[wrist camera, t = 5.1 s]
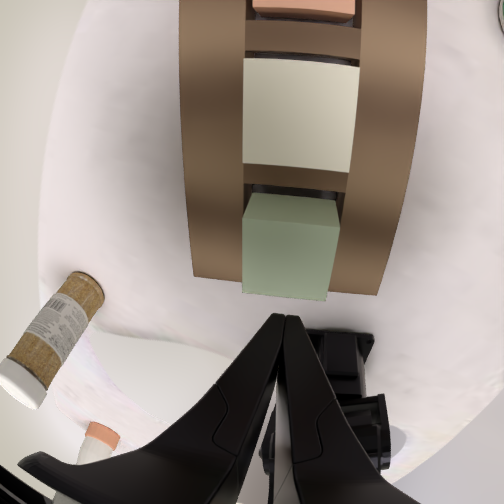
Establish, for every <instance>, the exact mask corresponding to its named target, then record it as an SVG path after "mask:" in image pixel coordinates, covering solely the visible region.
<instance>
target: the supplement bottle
mask: <svg viewBox="0 0 504 504" xmlns="http://www.w3.org/2000/svg"><path fill="white" fill-rule="evenodd" d="M499 16H500V21H501V25H502V28H503V31H504V0H501V2H500V6H499Z"/></svg>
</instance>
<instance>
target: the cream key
mask: <svg viewBox="0 0 504 504" xmlns="http://www.w3.org/2000/svg"><path fill="white" fill-rule="evenodd" d="M359 73H360V67H353V66H346V65H339V64H331V63H322V62H312V61H300V60H285V59H260V58H244V63H243V163H251V164H266V165H279V166H291V167H302V168H312V169H322V170H330V171H339V172H347V173H349V168H350V161H351V153H352V145H353V137H354V128H355V119H356V109H357V98H358V86H359Z"/></svg>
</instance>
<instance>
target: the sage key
mask: <svg viewBox="0 0 504 504" xmlns="http://www.w3.org/2000/svg"><path fill="white" fill-rule="evenodd" d="M339 232H340V224H339V218H338V213H337V207H336V202H335V200H328V199H319V198H309V197H299V196H288V195H277V194H266V193H252V195H251V198H250V200H249V203H248V205H247V208H246V210H245V213H244V215H243V218H242V293H250V294H259V295H268V296H277V297H286V298H296V299H306V300H316V301H326V297H327V292H328V288H329V283H330V278H331V273H332V268H333V263H334V258H335V253H336V248H337V243H338V237H339Z"/></svg>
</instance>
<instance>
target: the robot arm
mask: <svg viewBox="0 0 504 504" xmlns="http://www.w3.org/2000/svg"><path fill="white" fill-rule="evenodd" d="M373 344H374V336H373V335H368V334H353V333H339V332H327V331H315V330H305V327H304V325H303V323H302V321H301V319H300V317H299V316H295V315H286V318H285V315H284V314H278V313H272V314H271V315H270V317H269V318H268V319H267V320H266V322H265V323H264V324H263V325H262V327H261V328H260V329H259V330H258V332H257V333H256V334H255V335H254V337H253V338H252V339H251V340H250V341H249V343H248V344H247V345H246V346H245V348H244V349H243V350H242V351H241V352H240V354H239V355H238V356H237V357H236V359H235V360H234V361H233V362H232V363H231V365H230V366H229V367H228V368H227V369H226V370H225V372H224V373H223V374H222V375H221V376H220V378H219V379H218V380H217V381H216V384H213V386H212V387H211V388H210V389H209V390H208V391H207V393H206V394H205V395H204V396H203V397H202V398H201V399H200V400H199V401H198V402H197V403H196V404H195V405H194V406H193V407H192V408H191V409H190V410H189V411H188V412H186V413H185V414H184V415H183V416H182V417H181V418H180V419H178V420H177V421H176V422H175V423H174V424H172V425H171V426H170V427H169V428H168V429H166V430H165V431H164V432H163V433H161V434H160V435H159V436H158V437H157V438H155V439H154V440H153V441H151V442H150V443H148V444H147V445H145V446H143V447H141V448H139V449H137V450H134V451H131V452H127V453H124V454H121V455H117V456H114V457H110V458H107V459H103V460H99V461H96V462H92V463H88V464H82V465H71V464H66V463H64V462H61V461H59V460H57V459H56V458H54V457H52V456H50V455H48V454H46V453H44V452H41V451H40V452H37V453H34V454H31V455H29V456H27V457H25V458H23V459H22V460H21V461H20V462H19V463H18V464H17V465H18V466H19V467H20V468H22V469H23V470H25V471H26V472H28V473H29V474H30V475H32V476H33V477H35V478H37V479H38V480H40V481H41V482H43V483H44V484H46V485H47V486H49V487H51V488H52V489H54V490H56V493H55V496H54V498H53V500H50V499H49V498H48V497H46V496H44V495H43V494H41V493H40V492H38V491H36V490H35V489H33V488H32V487H30V486H29V485H27V484H26V483H24V482H23V481H22V480H20V479H19V478H17V477H16V476H15V475H13V474H12V473H10V472H9V471H8V470H6V469H5V468H4V467H3V466H1V465H0V504H236V502H237V499H238V496H239V493H240V490H241V488H242V485H243V482H244V479H245V476H246V474H247V471H248V468H249V465H250V462H251V459H252V456H253V453H254V450H255V447H256V444H257V441H258V438H259V435H260V432H261V429H262V426H263V423H264V419H265V416H266V413H267V410H268V407H269V403H270V400H271V396H272V393H273V390H274V387H275V382H276V378H277V386H276V404H275V407H274V410H273V411H272V413H271V417H270V420H269V423H268V426H267V430H266V433H265V436H264V439H263V442H262V445H261V448H260V450H259V456H260V458H261V459H262V461H263V468H264V471H265V473H266V475H269V496H268V504H420V503H419V502H417V501H416V500H414V499H413V498H411V497H409V496H408V495H406V494H405V493H403V492H402V491H400V490H399V489H397V488H396V487H394V486H393V485H391V484H390V483H389V482H387V481H386V480H385V479H384V478H383V477H382V476H381V475H380V472H381V470H385V469H389V467H390V458H391V442H390V429H389V421H388V414H387V408H386V401H385V395H384V394H378V395H377V396H371V397H366V384H365V372H364V364H365V362H366V360H367V357H368V355H369V353H370V351H371V349H372V346H373ZM278 366H279V367H278ZM277 373H278V374H277Z"/></svg>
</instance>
